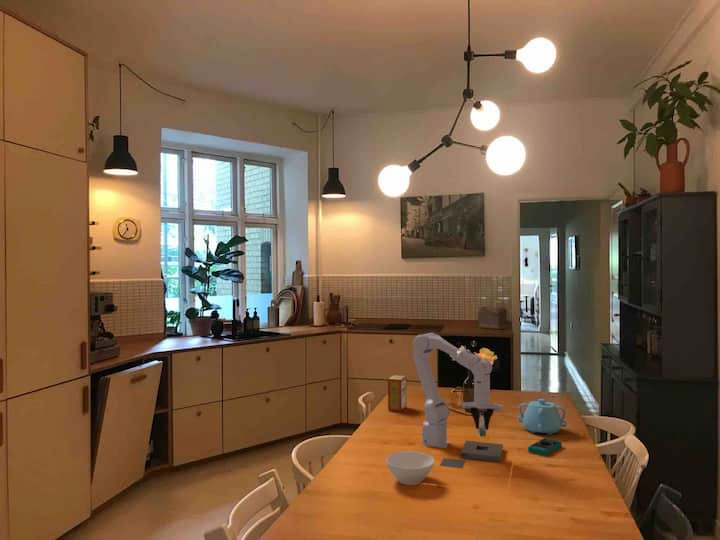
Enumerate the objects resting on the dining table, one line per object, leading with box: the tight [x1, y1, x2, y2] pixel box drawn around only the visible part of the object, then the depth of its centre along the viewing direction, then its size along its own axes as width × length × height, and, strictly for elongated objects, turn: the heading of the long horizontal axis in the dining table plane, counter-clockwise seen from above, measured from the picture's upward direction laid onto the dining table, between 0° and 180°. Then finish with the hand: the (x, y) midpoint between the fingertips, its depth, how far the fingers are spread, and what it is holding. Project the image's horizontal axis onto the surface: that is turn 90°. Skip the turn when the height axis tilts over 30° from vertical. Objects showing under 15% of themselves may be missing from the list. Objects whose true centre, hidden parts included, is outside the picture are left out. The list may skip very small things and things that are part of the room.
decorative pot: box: [517, 398, 568, 436], centre depth 231 cm, size 16×16×14 cm
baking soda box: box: [387, 374, 407, 413], centre depth 267 cm, size 10×6×16 cm
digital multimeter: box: [527, 437, 563, 457], centre depth 208 cm, size 7×15×3 cm, turn 136°
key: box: [477, 409, 487, 438], centre depth 202 cm, size 3×3×9 cm
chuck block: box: [460, 440, 504, 463], centre depth 202 cm, size 14×14×2 cm
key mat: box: [439, 457, 467, 469], centre depth 193 cm, size 8×8×1 cm
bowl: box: [385, 450, 435, 486], centre depth 178 cm, size 16×16×7 cm
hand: (482, 428), depth 202 cm, fingers closed on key, 3 cm apart
